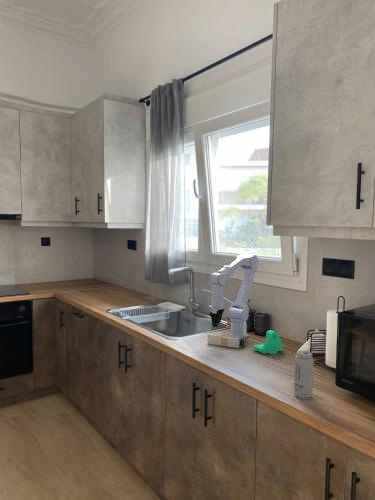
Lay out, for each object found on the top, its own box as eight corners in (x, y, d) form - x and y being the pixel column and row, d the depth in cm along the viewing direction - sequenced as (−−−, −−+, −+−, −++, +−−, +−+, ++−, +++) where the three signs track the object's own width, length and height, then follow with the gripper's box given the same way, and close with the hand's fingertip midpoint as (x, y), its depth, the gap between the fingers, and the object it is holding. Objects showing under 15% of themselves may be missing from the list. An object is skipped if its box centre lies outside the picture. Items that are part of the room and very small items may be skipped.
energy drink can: (290, 393, 134) (291, 351, 133) (305, 391, 136) (306, 349, 135) (300, 401, 128) (302, 356, 127) (315, 398, 130) (317, 355, 129)
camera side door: (208, 342, 190) (208, 334, 190) (239, 347, 183) (240, 339, 183) (207, 343, 189) (207, 334, 189) (238, 348, 182) (239, 339, 182)
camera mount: (271, 347, 186) (272, 326, 186) (283, 351, 180) (283, 330, 179) (252, 351, 180) (253, 329, 179) (264, 355, 173) (264, 333, 173)
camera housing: (225, 341, 194) (225, 332, 194) (246, 344, 189) (246, 335, 189) (219, 344, 188) (219, 335, 188) (241, 348, 183) (241, 339, 182)
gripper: (212, 294, 196) (211, 320, 197) (206, 299, 182) (205, 327, 183) (225, 295, 195) (225, 321, 195) (220, 300, 181) (220, 329, 181)
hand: (216, 324), depth 189 cm, fingers open, 7 cm apart
